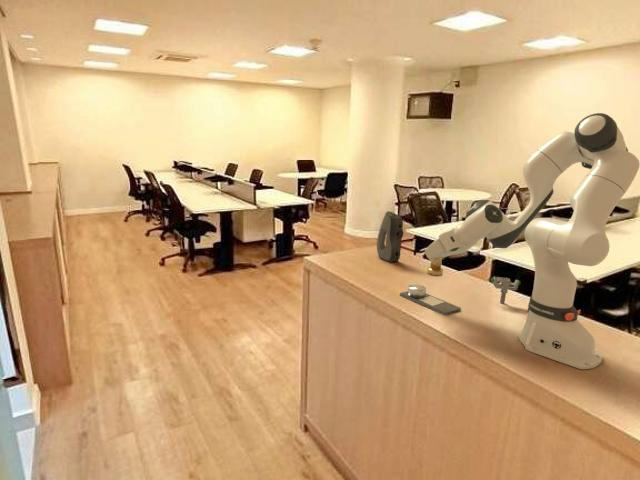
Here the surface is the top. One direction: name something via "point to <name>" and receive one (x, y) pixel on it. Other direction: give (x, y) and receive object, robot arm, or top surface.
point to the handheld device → (390, 237)
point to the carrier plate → (428, 300)
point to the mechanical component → (504, 286)
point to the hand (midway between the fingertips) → (435, 258)
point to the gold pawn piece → (435, 268)
